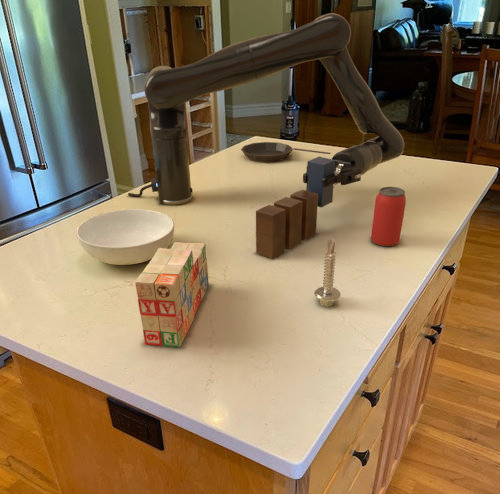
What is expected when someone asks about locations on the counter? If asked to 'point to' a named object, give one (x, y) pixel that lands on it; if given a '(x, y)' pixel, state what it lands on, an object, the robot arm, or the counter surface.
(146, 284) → the stack of blocks
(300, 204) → the line block
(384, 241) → the beer can
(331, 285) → the screw
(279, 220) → the line block
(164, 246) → the serving bowl
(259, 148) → the frying pan
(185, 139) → the robot arm
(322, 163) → the block
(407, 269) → the counter surface
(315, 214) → the line block
